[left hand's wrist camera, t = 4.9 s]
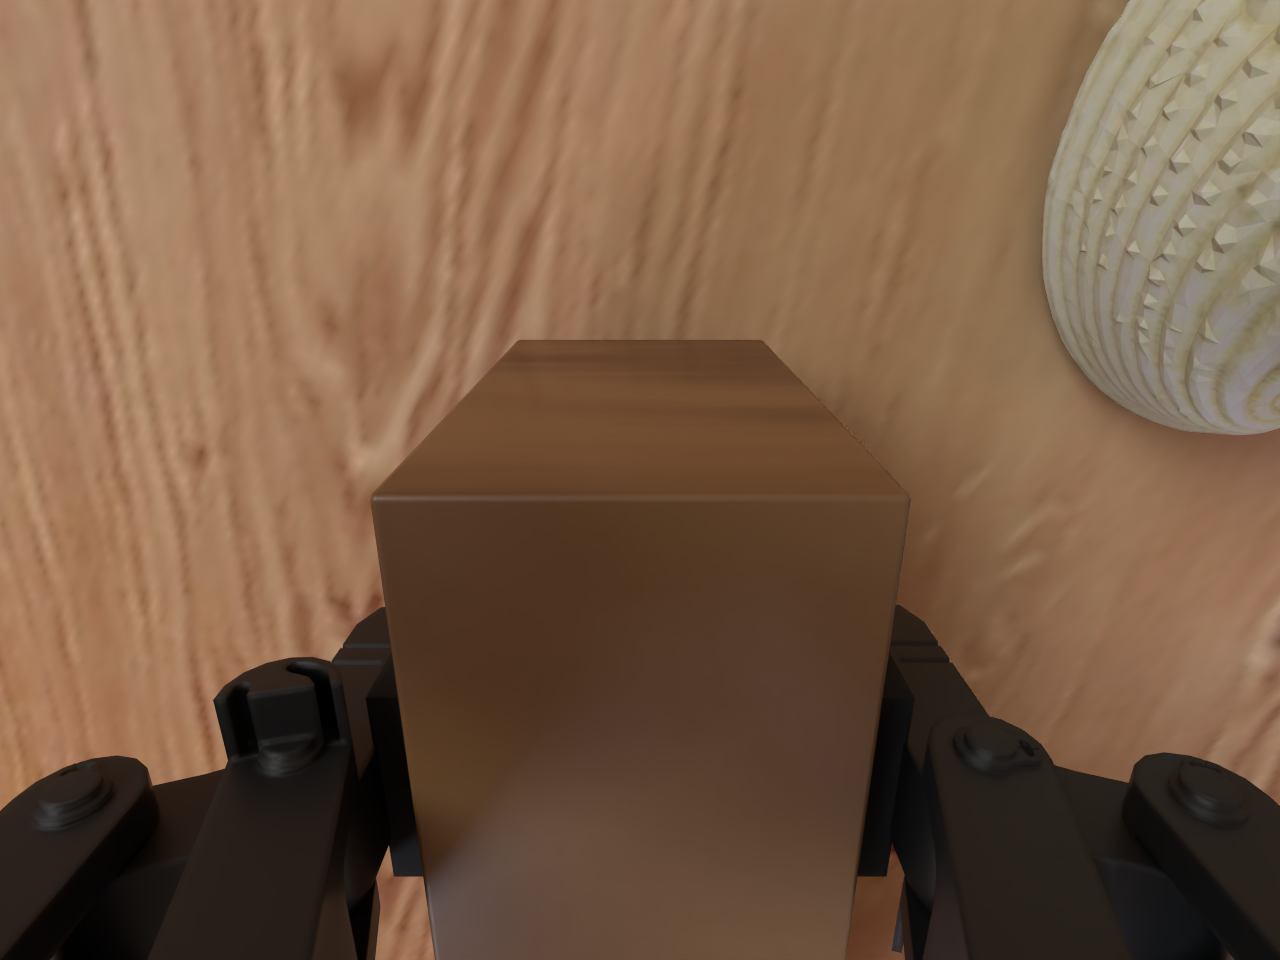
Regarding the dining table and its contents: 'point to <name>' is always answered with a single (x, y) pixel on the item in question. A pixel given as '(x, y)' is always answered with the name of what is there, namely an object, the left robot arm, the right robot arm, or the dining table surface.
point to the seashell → (1174, 216)
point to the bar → (640, 654)
